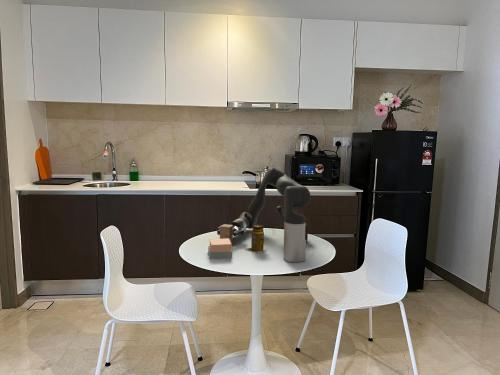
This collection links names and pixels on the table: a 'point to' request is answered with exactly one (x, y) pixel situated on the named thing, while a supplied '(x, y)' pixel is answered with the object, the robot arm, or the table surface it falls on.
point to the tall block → (226, 232)
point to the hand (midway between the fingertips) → (226, 233)
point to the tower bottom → (219, 254)
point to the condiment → (257, 239)
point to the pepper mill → (279, 210)
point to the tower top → (220, 245)
